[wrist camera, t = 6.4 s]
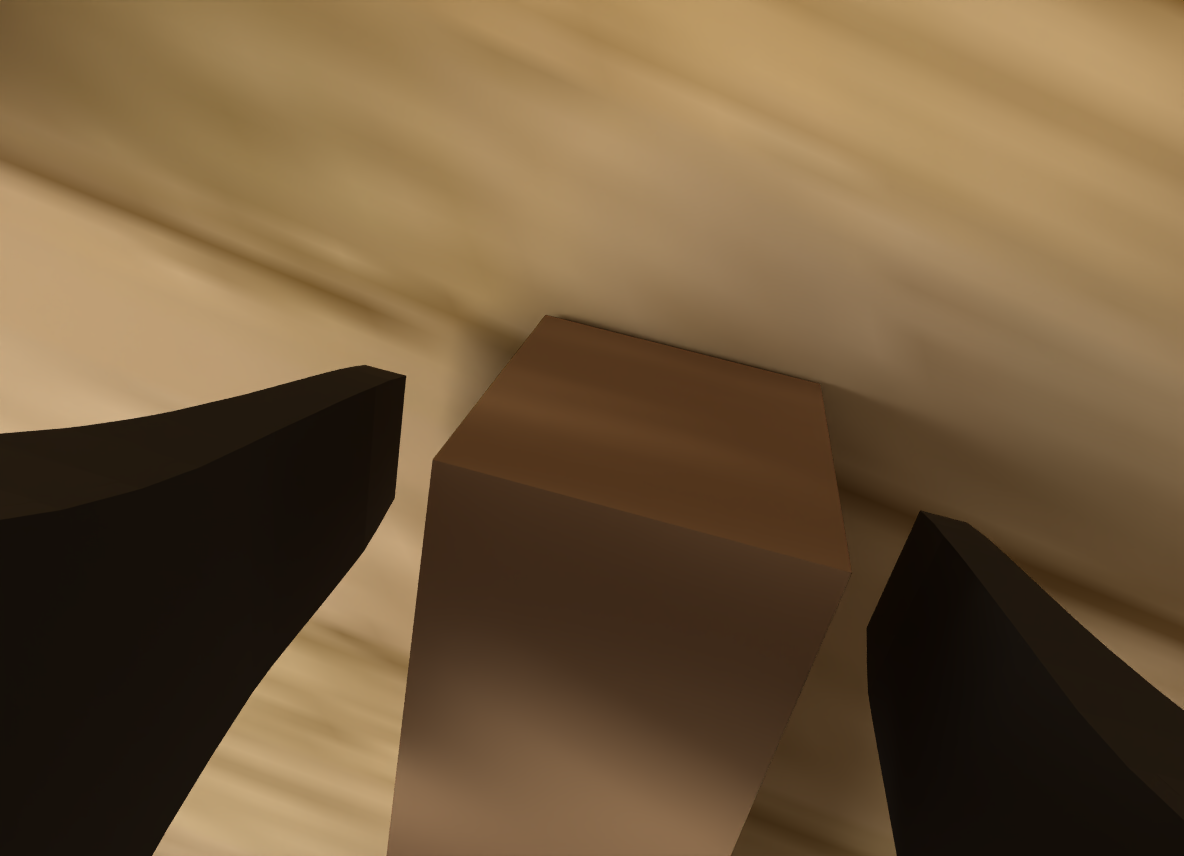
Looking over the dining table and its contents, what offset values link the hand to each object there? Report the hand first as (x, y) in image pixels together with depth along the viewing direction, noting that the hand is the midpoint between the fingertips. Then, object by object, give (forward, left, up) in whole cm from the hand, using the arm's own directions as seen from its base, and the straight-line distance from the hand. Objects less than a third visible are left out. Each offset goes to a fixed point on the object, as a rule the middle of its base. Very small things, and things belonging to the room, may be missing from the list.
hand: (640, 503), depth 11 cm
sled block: (-4, -4, -1) cm, 5 cm away
